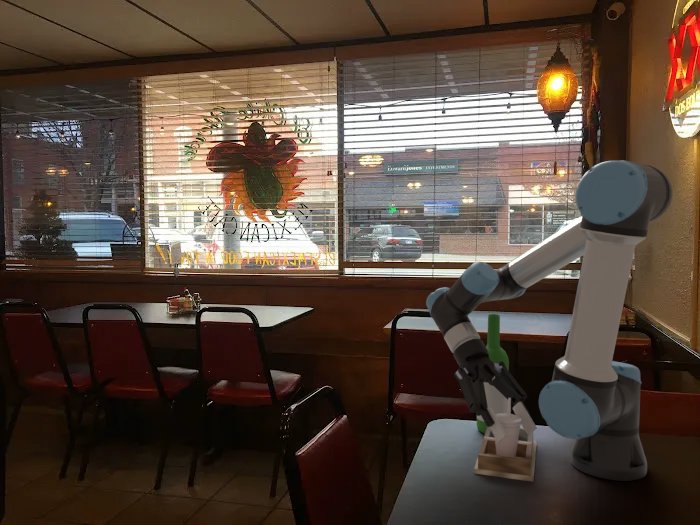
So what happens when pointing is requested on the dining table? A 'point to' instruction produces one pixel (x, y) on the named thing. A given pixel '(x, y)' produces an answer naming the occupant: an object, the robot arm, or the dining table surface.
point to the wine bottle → (492, 394)
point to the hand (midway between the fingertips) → (517, 435)
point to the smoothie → (508, 433)
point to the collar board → (507, 458)
